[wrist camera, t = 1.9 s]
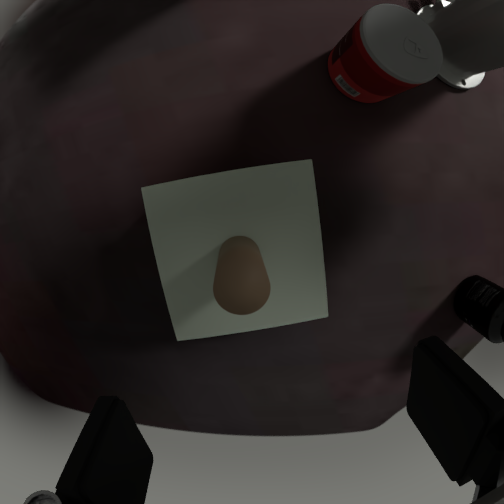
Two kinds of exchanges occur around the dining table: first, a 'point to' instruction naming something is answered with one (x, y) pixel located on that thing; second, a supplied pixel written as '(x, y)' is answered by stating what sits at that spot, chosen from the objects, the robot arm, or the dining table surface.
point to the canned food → (385, 55)
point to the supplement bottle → (481, 307)
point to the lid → (239, 249)
